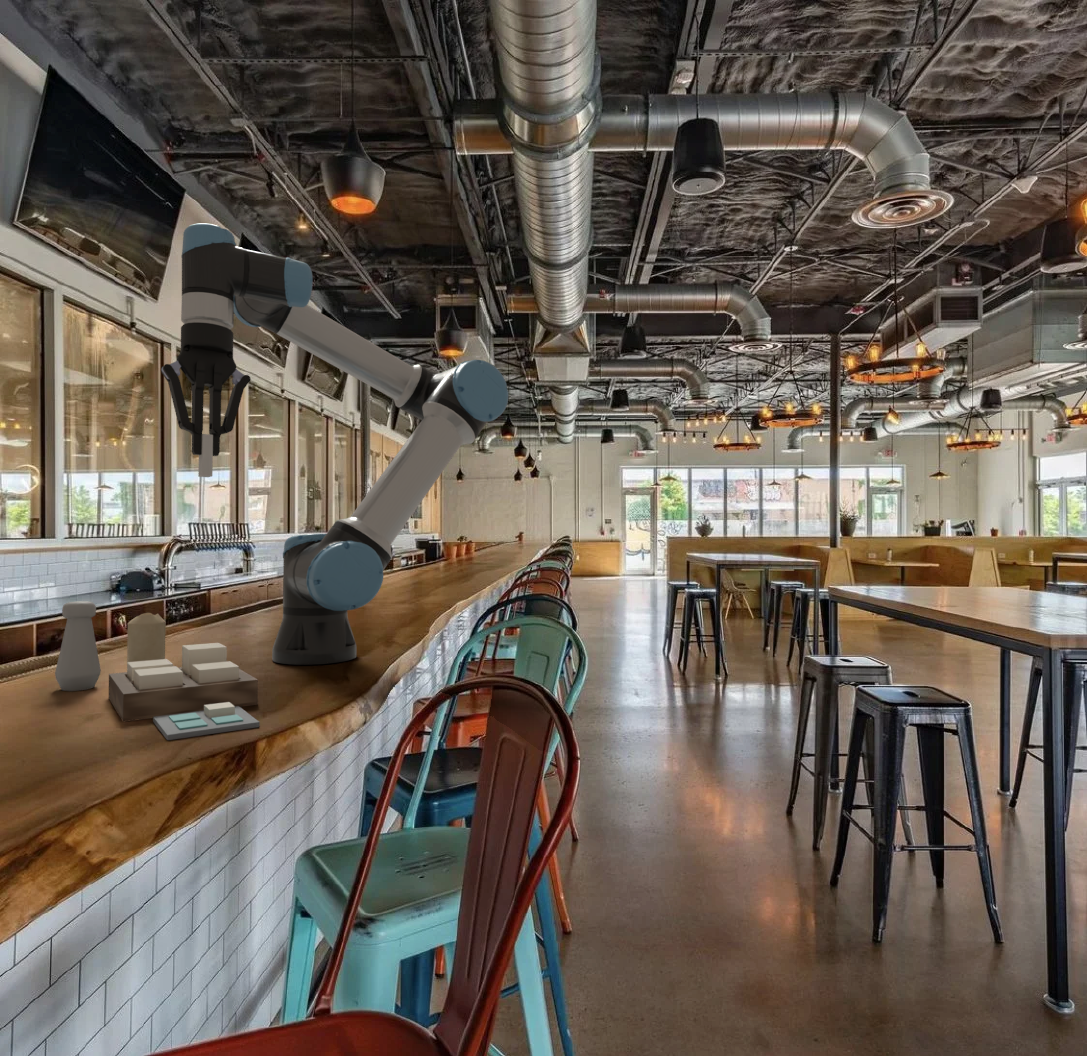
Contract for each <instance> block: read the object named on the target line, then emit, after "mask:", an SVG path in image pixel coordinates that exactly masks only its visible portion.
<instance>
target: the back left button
mask: <svg viewBox="0 0 1087 1056" xmlns="http://www.w3.org/2000/svg"><path fill="white" fill-rule="evenodd" d="M227 650H228V646H225V644H222V643H220V642H212V643H211V642H210V643H199V644H186V645H185V644H184V645H181V667H182V671H183V672H184V673H185V674H187V675H192V665H194V664H205V663H216V662H227V661H228V660H227V659H228V657H227V655H228V654H227V652H228V651H227Z"/></svg>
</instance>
